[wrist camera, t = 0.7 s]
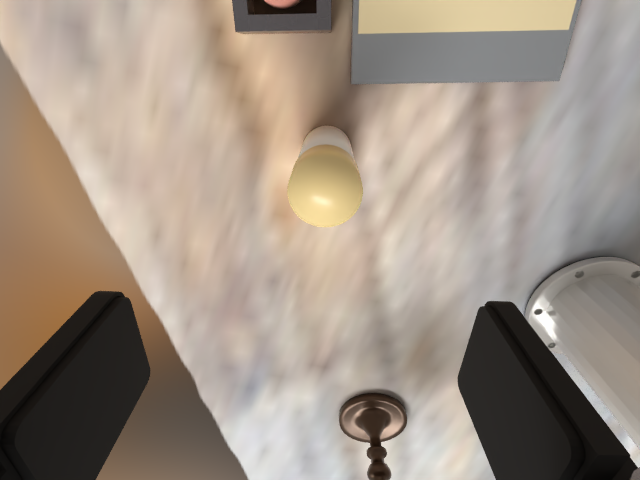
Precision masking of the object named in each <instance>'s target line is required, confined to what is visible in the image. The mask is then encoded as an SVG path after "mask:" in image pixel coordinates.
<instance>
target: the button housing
mask: <svg viewBox="0 0 640 480" xmlns="http://www.w3.org/2000/svg"><path fill="white" fill-rule="evenodd" d="M232 3H233V12H234V21H235V30H236V32H238V33H241V34H273V33H324V32H331V0H317V13H311V14H264V15H255V13H254V2H253V0H232Z"/></svg>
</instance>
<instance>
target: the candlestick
mask: <svg viewBox="0 0 640 480" xmlns="http://www.w3.org/2000/svg"><path fill="white" fill-rule="evenodd" d="M339 423H340V427H341V429H342V431H343V432H344V433H345V434H346V435H347V436H349V437H351V438H352V439H355V440H358V441H361V442H368V443H370V446H371V447H370V448H368V450H367V456H368V458H370V459H371V463H372V464H370V466H369V468H368V471H367V476H368V478H369V480H389V479H390V478H391V471H390V469H389V467H388V466H387V464H385V463H384V458H385V457H386V455H387V452H386V449H385V448H384V447H382V446H381V442H383V441H387V440H390V439H392V438H394V437H396V436H397V435H399V434H400V433H401V432H402V431H403V430H404V428H405V427H406V424H407V416H406V412H405V408H404V407H403V405H402V404H401V403H400V402H399V401H398V400H397V399H395V398H393V397H391V396H388V395H384V394H378V393H368V394H362V395H359V396H356V397H354V398H352V399H350V400H348V401H347V402H346V403H345V404H344V405H343V406H342V408H341V410H340V413H339Z"/></svg>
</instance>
